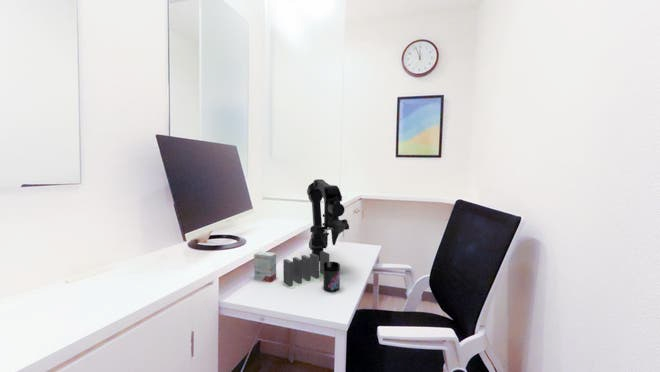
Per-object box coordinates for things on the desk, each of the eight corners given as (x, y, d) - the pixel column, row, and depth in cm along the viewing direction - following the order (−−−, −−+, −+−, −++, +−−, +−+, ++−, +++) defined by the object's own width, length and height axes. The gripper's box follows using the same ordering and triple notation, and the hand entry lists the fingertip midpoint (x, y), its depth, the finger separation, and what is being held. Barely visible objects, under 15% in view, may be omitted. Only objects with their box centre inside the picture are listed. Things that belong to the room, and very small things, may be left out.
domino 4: (309, 275, 130) (309, 253, 129) (312, 274, 131) (312, 253, 130) (316, 278, 126) (316, 256, 125) (319, 277, 127) (319, 255, 126)
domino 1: (283, 282, 121) (283, 259, 121) (286, 281, 122) (286, 258, 122) (289, 286, 117) (289, 262, 117) (292, 285, 118) (292, 262, 118)
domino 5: (319, 272, 133) (319, 251, 132) (322, 272, 134) (322, 251, 133) (326, 276, 129) (326, 254, 128) (329, 275, 130) (329, 253, 129)
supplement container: (324, 293, 112) (324, 267, 111) (322, 286, 119) (322, 261, 118) (341, 292, 113) (341, 266, 112) (338, 285, 120) (338, 261, 119)
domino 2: (292, 280, 124) (292, 257, 123) (295, 279, 125) (295, 256, 124) (298, 283, 120) (298, 260, 120) (301, 283, 121) (302, 259, 121)
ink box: (276, 278, 126) (276, 252, 125) (271, 283, 122) (271, 256, 121) (260, 276, 129) (259, 250, 128) (253, 280, 125) (253, 253, 124)
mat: (280, 281, 123) (280, 281, 123) (325, 269, 138) (325, 269, 138) (291, 289, 116) (291, 288, 116) (336, 275, 131) (337, 274, 131)
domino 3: (301, 277, 127) (301, 255, 126) (304, 276, 128) (304, 255, 127) (307, 281, 123) (307, 258, 122) (310, 280, 124) (310, 257, 123)
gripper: (324, 217, 120) (323, 253, 121) (357, 213, 131) (356, 246, 132) (309, 213, 129) (309, 247, 130) (341, 210, 140) (341, 241, 141)
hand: (330, 245), depth 133 cm, fingers open, 4 cm apart
